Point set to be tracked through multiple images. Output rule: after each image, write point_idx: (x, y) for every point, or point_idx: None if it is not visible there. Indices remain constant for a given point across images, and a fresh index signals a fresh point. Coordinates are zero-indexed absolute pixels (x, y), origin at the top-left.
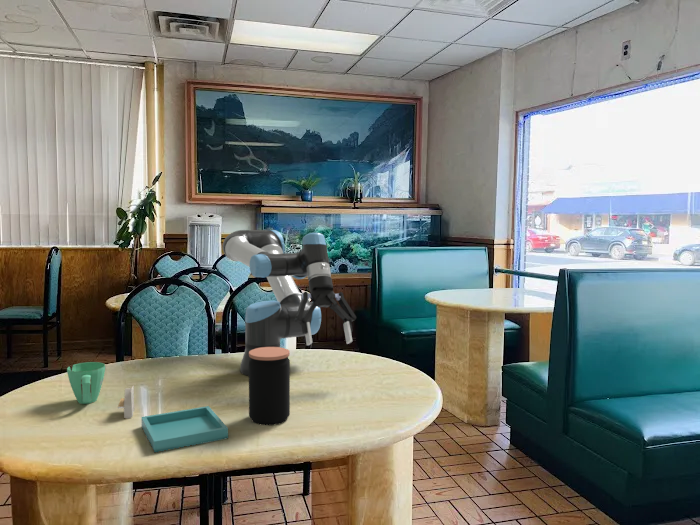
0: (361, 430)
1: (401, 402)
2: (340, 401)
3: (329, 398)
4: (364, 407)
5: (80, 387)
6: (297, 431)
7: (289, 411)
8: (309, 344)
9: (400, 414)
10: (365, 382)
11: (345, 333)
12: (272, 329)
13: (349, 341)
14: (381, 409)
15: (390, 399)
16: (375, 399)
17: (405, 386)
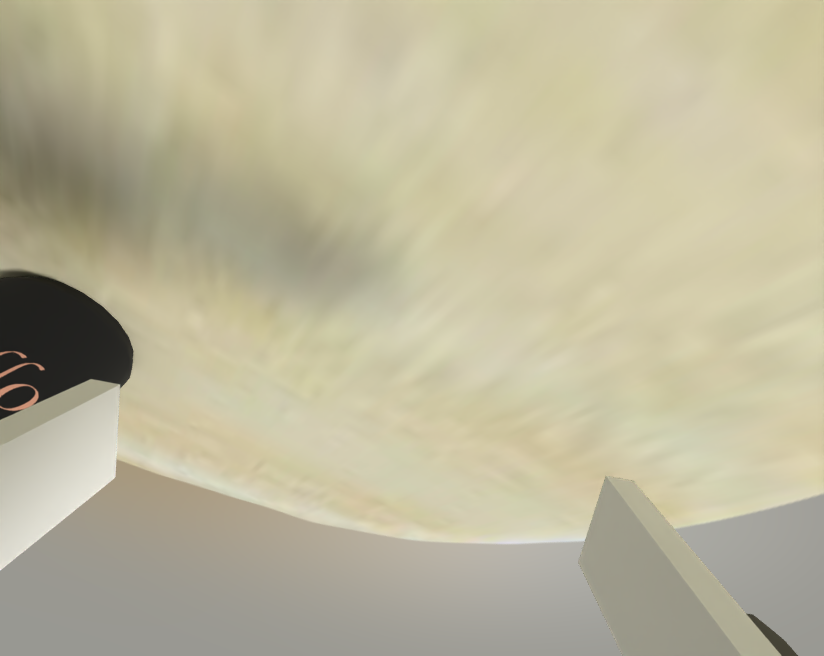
0: (304, 499)
1: (549, 485)
2: (372, 368)
3: (351, 321)
4: (410, 442)
5: None
6: (149, 426)
7: (121, 386)
8: (110, 415)
9: (460, 513)
10: (699, 271)
11: (667, 584)
12: None
13: (586, 546)
14: (444, 475)
15: (546, 456)
16: (502, 428)
17: (764, 426)
